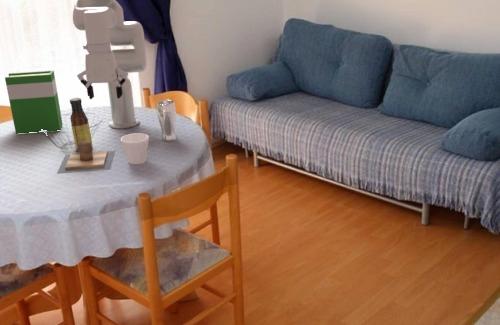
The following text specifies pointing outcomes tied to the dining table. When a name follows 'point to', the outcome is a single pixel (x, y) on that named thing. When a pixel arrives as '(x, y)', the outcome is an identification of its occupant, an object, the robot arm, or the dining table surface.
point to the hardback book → (34, 101)
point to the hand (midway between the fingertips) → (105, 97)
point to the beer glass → (167, 119)
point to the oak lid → (86, 158)
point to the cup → (135, 147)
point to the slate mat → (106, 167)
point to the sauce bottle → (79, 123)
